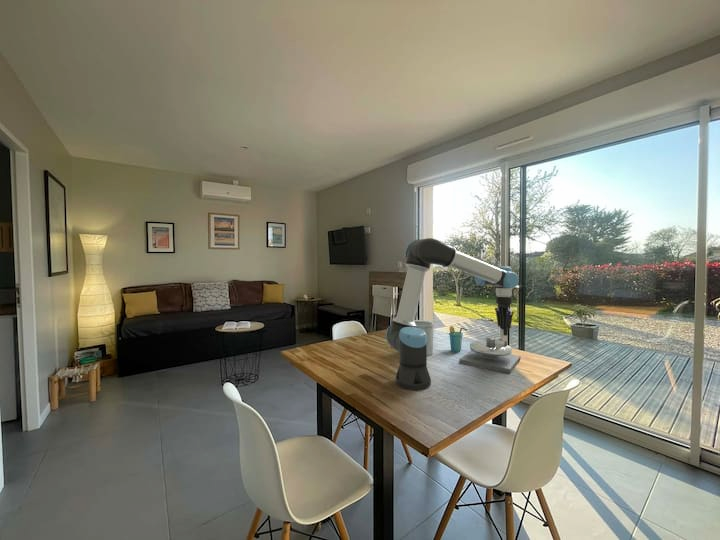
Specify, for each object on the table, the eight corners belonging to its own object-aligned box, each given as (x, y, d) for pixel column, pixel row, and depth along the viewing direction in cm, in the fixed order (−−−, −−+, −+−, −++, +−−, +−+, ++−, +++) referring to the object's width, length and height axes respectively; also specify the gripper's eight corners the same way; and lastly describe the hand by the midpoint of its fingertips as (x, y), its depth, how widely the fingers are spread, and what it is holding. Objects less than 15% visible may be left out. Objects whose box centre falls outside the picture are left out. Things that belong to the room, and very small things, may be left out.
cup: (471, 353, 172) (471, 327, 171) (461, 355, 168) (461, 329, 167) (452, 347, 184) (452, 323, 183) (443, 349, 180) (443, 324, 179)
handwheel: (485, 357, 146) (485, 341, 146) (462, 346, 166) (462, 331, 166) (520, 354, 151) (521, 338, 151) (494, 343, 170) (494, 329, 170)
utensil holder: (418, 347, 185) (417, 318, 184) (439, 352, 174) (439, 322, 173) (402, 352, 175) (402, 322, 174) (423, 358, 164) (423, 326, 163)
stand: (459, 362, 157) (459, 352, 156) (474, 351, 175) (474, 341, 175) (510, 373, 142) (510, 361, 142) (520, 359, 161) (520, 349, 160)
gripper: (518, 297, 152) (518, 343, 152) (503, 294, 164) (503, 337, 165) (504, 297, 151) (504, 344, 151) (490, 295, 163) (490, 338, 164)
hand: (504, 341), depth 158 cm, fingers closed
